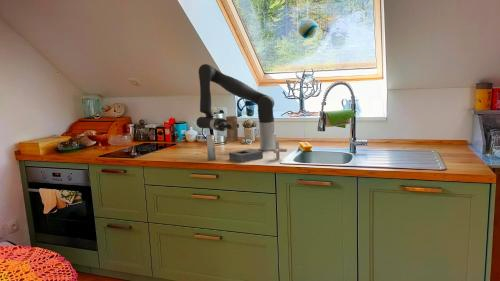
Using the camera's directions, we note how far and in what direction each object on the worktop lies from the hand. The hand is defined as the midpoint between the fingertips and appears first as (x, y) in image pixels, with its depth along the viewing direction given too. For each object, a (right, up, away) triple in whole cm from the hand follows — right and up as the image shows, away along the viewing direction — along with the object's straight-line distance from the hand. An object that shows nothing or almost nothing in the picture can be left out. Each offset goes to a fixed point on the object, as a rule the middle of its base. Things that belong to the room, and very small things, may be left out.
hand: (234, 126), depth 215 cm
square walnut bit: (-1, -8, +3) cm, 9 cm away
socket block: (+6, -18, -2) cm, 19 cm away
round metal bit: (-13, -19, -1) cm, 23 cm away
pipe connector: (+24, -18, -5) cm, 30 cm away
